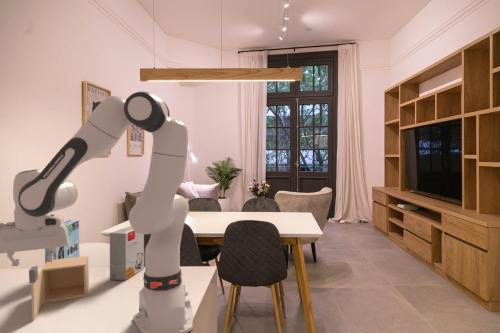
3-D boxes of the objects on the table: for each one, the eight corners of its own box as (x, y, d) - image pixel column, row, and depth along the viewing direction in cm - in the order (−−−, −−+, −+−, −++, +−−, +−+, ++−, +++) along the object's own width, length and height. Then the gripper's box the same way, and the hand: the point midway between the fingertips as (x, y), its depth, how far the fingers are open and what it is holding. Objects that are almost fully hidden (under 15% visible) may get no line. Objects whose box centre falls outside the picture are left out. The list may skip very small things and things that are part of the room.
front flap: (30, 320, 102) (28, 270, 102) (39, 302, 114) (37, 258, 114) (36, 319, 103) (34, 269, 102) (44, 302, 115) (43, 258, 114)
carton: (86, 296, 121) (85, 264, 120) (42, 302, 115) (41, 269, 115) (88, 285, 131) (88, 255, 131) (48, 290, 126) (48, 260, 125)
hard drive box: (125, 281, 135) (124, 233, 134) (109, 280, 136) (108, 233, 136) (144, 268, 150) (144, 226, 150) (129, 267, 152) (129, 225, 151)
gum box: (69, 269, 151) (68, 220, 150) (80, 268, 151) (79, 220, 150) (44, 285, 131) (43, 229, 131) (57, 285, 131) (56, 229, 131)
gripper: (-13, 225, 97) (-11, 271, 97) (65, 219, 104) (67, 261, 105) (-5, 222, 102) (-3, 265, 103) (68, 216, 110) (70, 256, 110)
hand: (33, 263), depth 104 cm, fingers open, 8 cm apart
